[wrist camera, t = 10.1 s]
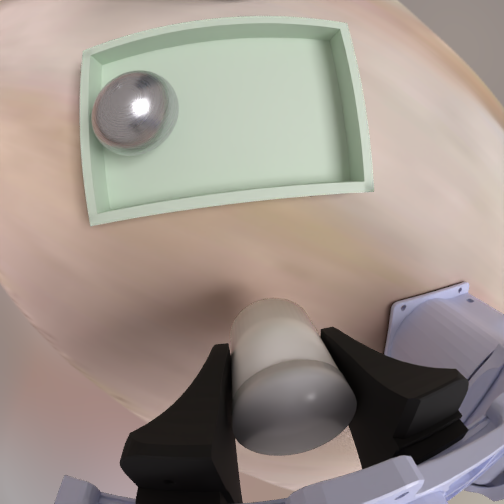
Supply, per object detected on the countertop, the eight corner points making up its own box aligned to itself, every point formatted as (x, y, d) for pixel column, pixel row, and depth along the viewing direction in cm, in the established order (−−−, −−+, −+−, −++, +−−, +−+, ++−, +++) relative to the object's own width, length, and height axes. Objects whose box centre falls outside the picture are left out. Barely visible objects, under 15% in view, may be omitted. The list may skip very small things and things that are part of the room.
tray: (334, 36, 13) (346, 23, 11) (357, 189, 16) (373, 191, 14) (96, 62, 12) (82, 50, 10) (105, 220, 15) (90, 226, 13)
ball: (179, 84, 14) (176, 48, 9) (182, 154, 15) (179, 139, 10) (106, 96, 13) (81, 67, 8) (107, 166, 14) (77, 158, 9)
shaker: (311, 291, 13) (364, 365, 7) (311, 360, 14) (348, 440, 8) (223, 303, 13) (221, 390, 7) (235, 372, 14) (241, 461, 8)
